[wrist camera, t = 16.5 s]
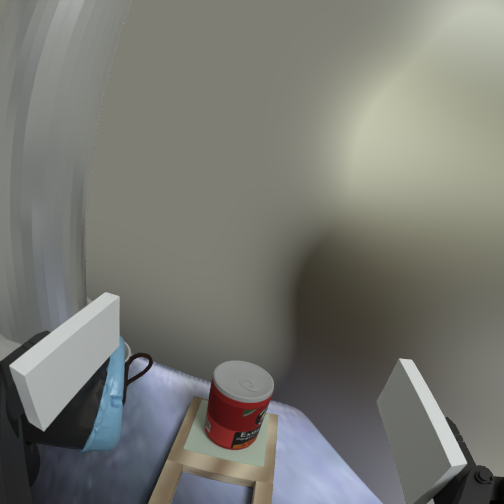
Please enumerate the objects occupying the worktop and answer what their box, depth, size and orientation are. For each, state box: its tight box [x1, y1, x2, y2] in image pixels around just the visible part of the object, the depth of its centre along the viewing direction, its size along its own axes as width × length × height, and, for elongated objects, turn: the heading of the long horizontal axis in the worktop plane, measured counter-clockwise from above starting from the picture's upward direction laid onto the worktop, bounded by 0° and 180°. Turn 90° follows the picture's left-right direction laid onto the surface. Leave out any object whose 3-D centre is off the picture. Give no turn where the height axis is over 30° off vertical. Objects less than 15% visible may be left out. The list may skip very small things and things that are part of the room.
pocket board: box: [148, 396, 278, 504], centre depth 32 cm, size 14×26×2 cm, turn 174°
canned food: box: [205, 361, 274, 450], centre depth 37 cm, size 8×8×11 cm
